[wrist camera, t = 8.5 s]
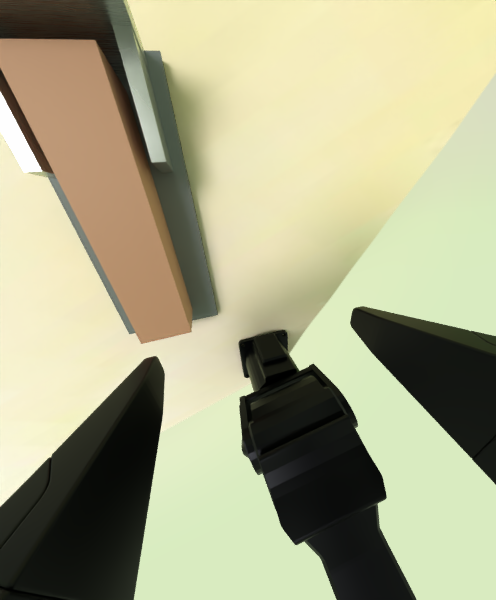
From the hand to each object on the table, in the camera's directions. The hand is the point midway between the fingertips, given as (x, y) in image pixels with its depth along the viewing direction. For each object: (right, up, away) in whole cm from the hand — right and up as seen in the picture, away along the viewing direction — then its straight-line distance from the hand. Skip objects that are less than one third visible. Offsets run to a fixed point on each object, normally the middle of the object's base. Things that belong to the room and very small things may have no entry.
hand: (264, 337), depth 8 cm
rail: (-9, +7, +7) cm, 14 cm away
